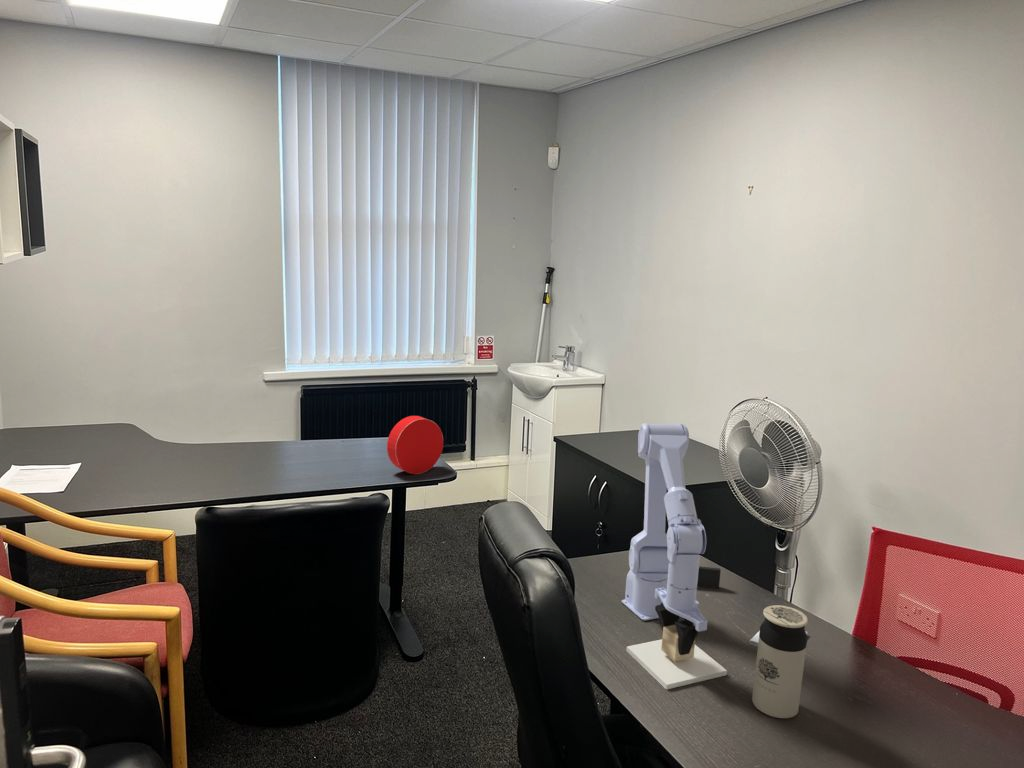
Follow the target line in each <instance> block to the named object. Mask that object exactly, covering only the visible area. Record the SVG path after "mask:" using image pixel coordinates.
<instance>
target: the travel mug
mask: <svg viewBox="0 0 1024 768" xmlns="http://www.w3.org/2000/svg"><path fill="white" fill-rule="evenodd" d="M762 613H763V616H764V620H763V622H762V623H761V624H760V626H759V631H760V633H759V642H758V647H757V653H756V661H755V672H754V679H753V688H752V695H751V696H752V697H751V700H752V703H753V705H754V707H755V708H756V709H757V710H759V711H760V712H762V713H763V714H765V715H767V716H770V717H772V718H778V719H789V718H793V717H795V716H796V715H797V714H798V713H799V708H800V707H799V706H800V699H801V692H802V686H803V685H802V683H803V675H804V667H805V660H806V652H807V644H808V634H806V632H807V631H806V630H805V628H806V626H807V625H808V623H809V618H808V617H807V615H806V614H804V612H802V611H801V610H799V609H797V608H793V607H790V606H787V605H777V604H776V605H774V604H773V605H768V606H767V607H765V608H764V609H763V611H762ZM805 631H806V632H805Z"/></svg>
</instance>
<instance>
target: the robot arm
mask: <svg viewBox="0 0 1024 768" xmlns="http://www.w3.org/2000/svg"><path fill="white" fill-rule="evenodd" d="M637 434H638V437H637V441H638V442H637V444H638V445H637V453H638V457H639V458H641V459H643V460H644V462H645V483H644V509H643V511H644V514H643V516H644V518H643V530H642V531H640V532H639V533H637V534H636V535H635V536H633V537H632V538H631V540H630V548H629V550H628V551H629V552H628V565H629V571H628V573H627V575H626V581H625V593H624V594H625V595H624V599H622V600H621V603H622V604H624V606H625V607H626V608H627V609H629V610H630V611H632V613H633V614H635V615H636V616H637V617H638V618H639V619H641V620H642V621H644V622H645V621H650V620H655V619H659V622H660V626H661V632H662V633H663V627H666V626H671V625H675V626H676V628H677V632H678V650H679V654H680V655H685V654H689V653H690V650H691V647H692V645H693V643H694V640H695V641H696V638H697V636H699V634H700V632H705V631H707V630H708V620H707V619H706V618H705V617H704V616H703V614H702V612H701V610H700V609H699V606H700V602H699V601H698V600H697V592H698V591H697V590H698V586H697V582H698V571H699V566H700V561H701V560H700V559H701V555H704V554H705V552H706V548H707V535H706V530H705V527H704V525H703V524H702V520H701V519H700V518H698V515H697V510H696V506H695V500H694V496H693V493H692V492H691V491H690V490H689V489H686V479H685V472H684V471H685V469H684V468H685V467H684V457H685V456H686V454H687V451H688V448H689V444H690V433H689V429H688V427H687V426H686V424H684V423H680V424H677V423H676V424H673V423H671V424H670V423H668V424H666V423H647V422H644V423H642V424H641V426H640V427H639V431H638V433H637ZM666 517H667V524H668V529H667V532H666ZM667 578H668V580H667ZM680 618H683V620H680Z"/></svg>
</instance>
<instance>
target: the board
mask: <svg viewBox="0 0 1024 768" xmlns="http://www.w3.org/2000/svg"><path fill="white" fill-rule="evenodd" d="M661 648H662V638H661V639H658V640H657V639H656V640H652V641H648V642H647V641H646V642H643V643H638V644H632V645H628V646H626V648H625V649H626V650H625V651H626V653H628V654H629V655H630V656H631V658H633V659H634V660H635V661H636V662H637V663H638V664H639V665H641V667H642V668H643V669H644V670H645V671H646V672H648V674H649V675H651V676H652V677H653V678H654V679H655V681H657V682H658V683H659V684H660V685H661V686H662V687H663V688H664V689H665V690H670V689H675V688H677V687H678V688H679V687H682V686H683V687H684V686H687V685H691V684H695V683H700V682H703V681H707V680H708V681H709V680H712V679H715V678H717V679H718V678H719V677H724V676H727V672H728V671H727V669H725V668H724V666H722V665H721V664H720V663H718V662H717V661H716V660H714V659H713V658H712V657H711V656H710V655H708V654H707V653H706V652H705V651H704V650H703V649H701V648H700V647H698V645H696V644H695V647H694V658H689V659H685V660H680V661H676V662H674V661H673V660H672V659H671V658H670V657H669V656H668V655H666V654H665V653H664V652H663V651H662V650H661Z"/></svg>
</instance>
